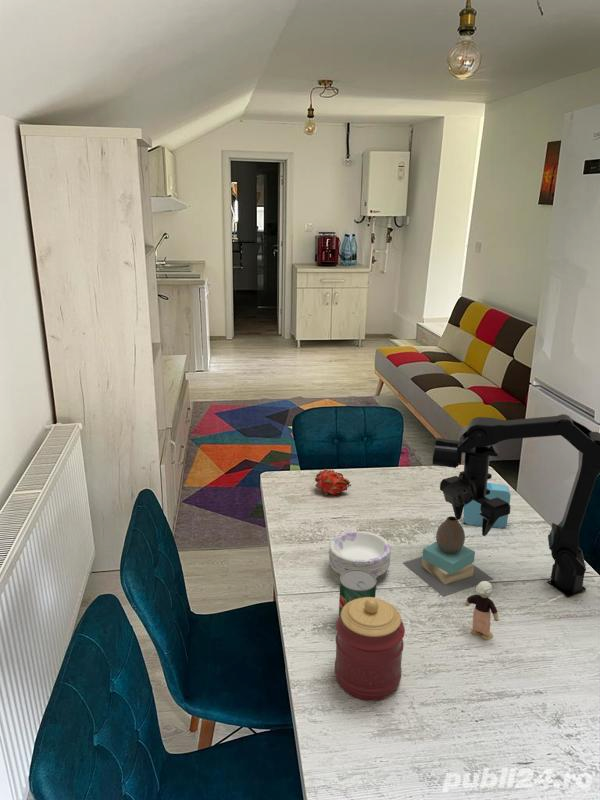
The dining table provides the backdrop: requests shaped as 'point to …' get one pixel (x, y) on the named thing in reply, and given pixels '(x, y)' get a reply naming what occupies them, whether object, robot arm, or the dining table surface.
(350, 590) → the canned tomato
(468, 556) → the teal block
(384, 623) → the canister
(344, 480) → the dragon fruit
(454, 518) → the vase
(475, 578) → the charcoal mat
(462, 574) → the beech block
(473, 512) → the light blue flat block
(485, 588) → the grandmother figurine
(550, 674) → the dining table surface
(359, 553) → the paper bowls
